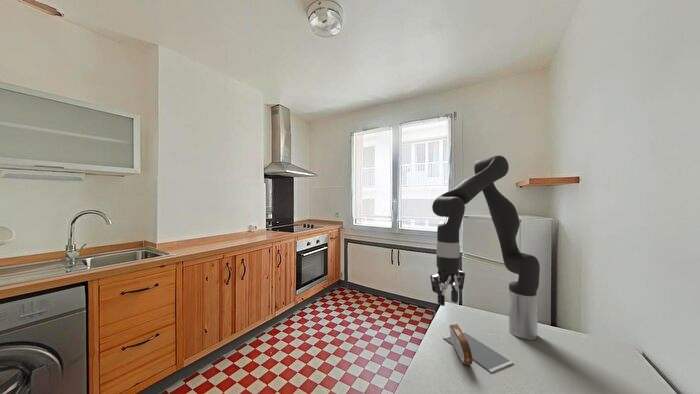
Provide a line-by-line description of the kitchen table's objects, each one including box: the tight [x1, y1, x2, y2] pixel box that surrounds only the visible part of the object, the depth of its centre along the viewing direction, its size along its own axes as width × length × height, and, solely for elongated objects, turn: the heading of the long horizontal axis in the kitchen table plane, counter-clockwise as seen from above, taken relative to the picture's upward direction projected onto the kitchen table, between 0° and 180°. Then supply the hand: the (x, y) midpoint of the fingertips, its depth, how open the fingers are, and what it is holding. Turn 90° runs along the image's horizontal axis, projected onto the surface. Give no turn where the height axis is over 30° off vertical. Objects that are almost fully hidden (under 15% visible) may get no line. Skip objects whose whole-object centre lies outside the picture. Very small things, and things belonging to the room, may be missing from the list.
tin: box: [449, 323, 474, 365], centre depth 83 cm, size 15×3×8 cm, turn 174°
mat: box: [443, 331, 514, 374], centre depth 86 cm, size 11×20×1 cm, turn 23°
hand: (448, 303), depth 80 cm, fingers open, 5 cm apart
